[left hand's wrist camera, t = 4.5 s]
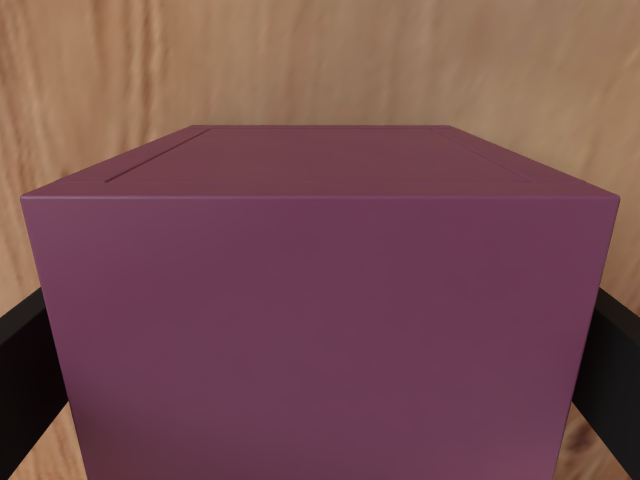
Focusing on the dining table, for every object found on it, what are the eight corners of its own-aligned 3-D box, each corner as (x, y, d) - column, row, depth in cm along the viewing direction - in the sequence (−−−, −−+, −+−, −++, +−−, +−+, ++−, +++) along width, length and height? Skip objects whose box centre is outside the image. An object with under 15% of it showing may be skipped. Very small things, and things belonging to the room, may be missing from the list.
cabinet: (418, 449, 23) (492, 733, 13) (222, 448, 23) (147, 732, 13) (451, 125, 18) (623, 196, 8) (190, 125, 18) (16, 195, 8)
